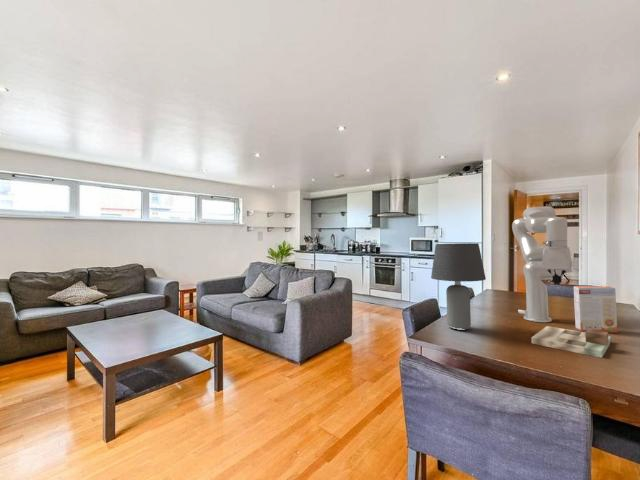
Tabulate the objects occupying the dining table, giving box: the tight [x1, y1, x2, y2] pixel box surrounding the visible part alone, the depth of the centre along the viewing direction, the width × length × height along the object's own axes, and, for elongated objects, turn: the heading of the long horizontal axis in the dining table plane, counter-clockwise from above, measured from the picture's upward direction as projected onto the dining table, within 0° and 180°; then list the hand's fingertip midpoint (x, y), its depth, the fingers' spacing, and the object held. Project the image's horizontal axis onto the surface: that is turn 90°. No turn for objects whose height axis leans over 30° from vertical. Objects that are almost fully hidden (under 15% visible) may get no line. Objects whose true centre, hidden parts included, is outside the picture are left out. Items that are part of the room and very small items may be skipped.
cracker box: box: [573, 285, 618, 334], centre depth 142 cm, size 14×6×21 cm, turn 71°
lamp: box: [430, 242, 487, 330], centre depth 151 cm, size 25×25×43 cm
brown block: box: [584, 329, 609, 346], centre depth 120 cm, size 6×6×4 cm
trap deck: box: [530, 325, 612, 359], centre depth 127 cm, size 22×24×2 cm
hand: (557, 284), depth 137 cm, fingers closed
